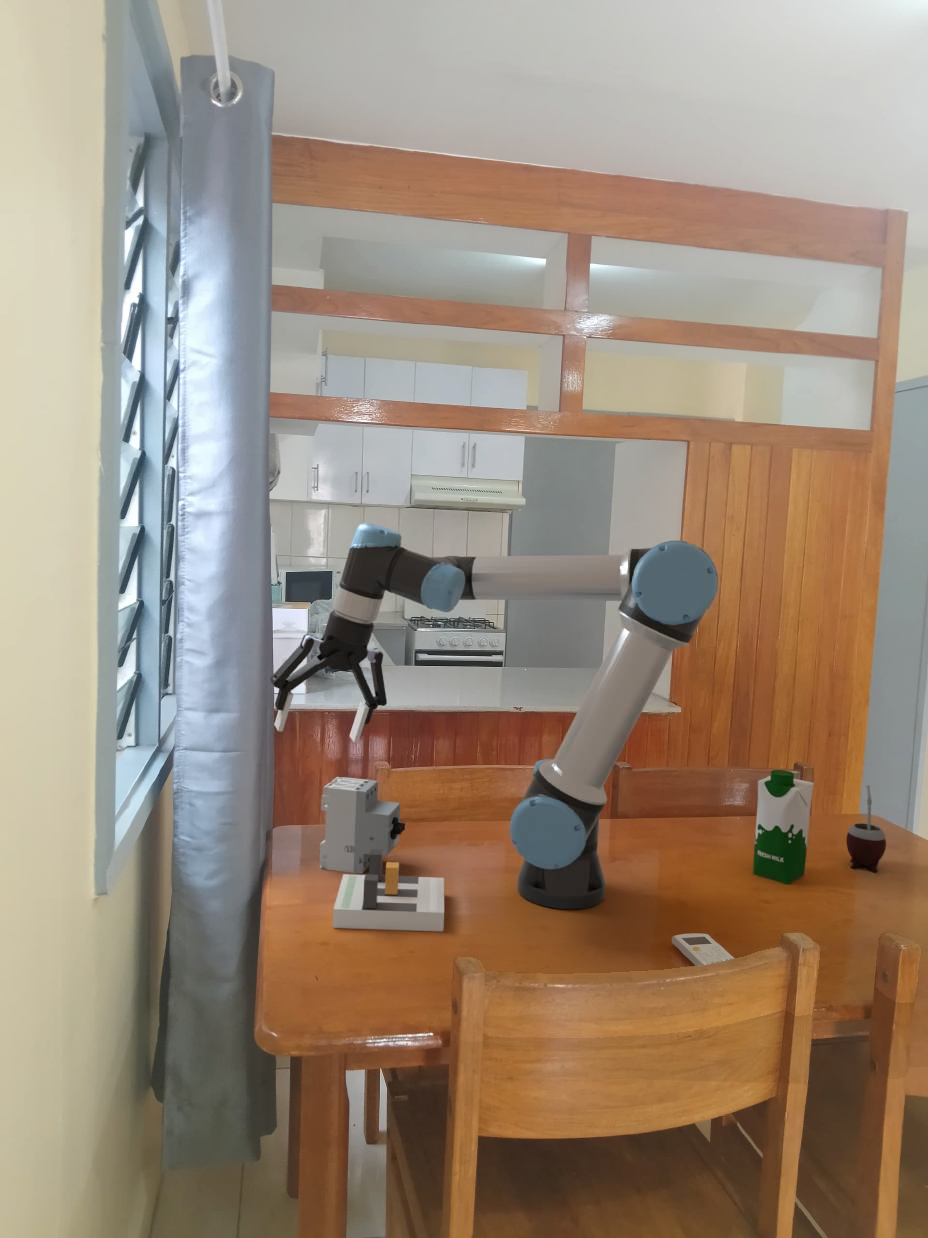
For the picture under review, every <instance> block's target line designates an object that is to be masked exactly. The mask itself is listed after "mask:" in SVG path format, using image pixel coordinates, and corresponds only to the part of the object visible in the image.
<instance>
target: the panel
mask: <svg viewBox="0 0 928 1238" xmlns="http://www.w3.org/2000/svg"><path fill="white" fill-rule="evenodd" d="M385 877H386V874H385V875H383V874H382V877H381V881H378V894H377V906H376V908H363V897H364V879H365V874H349V873H348V874H345V873H343V874H342V877H341V881H340V885H339V888H338V892H337V894H336V899H335V902H334V905H333V908H332V909H333V914H332V928H333V929H355V930H356V929H357V930H358V929H359V930H386V931H387V930H389V931H413V932H415V931H418V932H419V931H420V932H421V931H423V932H444V926H445V878H444V877H432V876H430V877H429V876H412V875H411V876H408V875H407V876H406V875H399V877H398V893H397V895H393V894H385Z"/></svg>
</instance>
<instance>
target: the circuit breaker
mask: <svg viewBox="0 0 928 1238" xmlns="http://www.w3.org/2000/svg"><path fill="white" fill-rule="evenodd" d="M322 790H323V793H322V795H321V802H320V803H321V804H320V806H321V808H320V810H321V811H322V812H323V811H324V812H325V829H324V830H325V831H324V835H325V836H324V839H323V841H321V842H320V843H319V870H320V869H321V870H322V869H325V870H327V871H337V872H345V873H353V874H358V875H363V874H364V872H365V871H366V870H367V869H369V861H370V851H371V849H372V850H383V857H388V855H389V854H390V853H391V852H392V851H393V849H394V848H395V847H396V846H397V845H398V844H399V842H400V835H402V834H403V832H404V831H405V830H406V823H405V822H401V821H400V820H401V819H400V818H401V803H400V802H393V801H384V800H378V797H379V796H378V793H379V791H378V790H379V780H373V779H363V778H353V777H344V776H343V777H339V776H336V777H335V778H334V779H332V780H331V781H330V782H328V783H327V784H326V785H324V786H323V788H322Z"/></svg>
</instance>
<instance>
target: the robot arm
mask: <svg viewBox="0 0 928 1238" xmlns="http://www.w3.org/2000/svg"><path fill="white" fill-rule="evenodd" d="M346 557H347V558H346V561H345V564H344V568H343V570H342V574H341V578H340V581H339V585H338V586H337V587H338V588H337V590H336V594H335V598H334V600H333V603H332V609H333V610H332V611H331V612H330V613H329V616H328V619H327V622H326V626H325V630H324V633H323V636H322V637H321V638H320V639H318V638H315V637H312V636H311V635H310V634H309V633H305V634H304V635H303V636H302V639H301V641H300V643H299V646H298V647H296V649H295V650H294V651H293V652H292V653H291V655H289V657H288V658H287V659H286V660H285V661H284V662H283V663H282V664H281V666H280V667H279V668H278V669H277V670H276V671H275V672H274V674H272V676H271V677H270V679H269V680H270V682H271V683H272V685H273V687H274V688H276V689H278V693H277V696H276V699H275V703H274V706H275V708H276V710H277V714H276V718H275V721H274V723H273V724H274V727H275V728H276V730H277V732H280V733H281V732H283V730H284V728H285V725H286V721H287V718H288V715H289V712H290V708H291V705H292V702H293V699H294V694H293V692H292V691H294V689H296V688H297V687H298V686H300V685H301V684H303V683H304V682H305V681H307V680H308V679H309V678H311V677H312V676H314V675H315V674H317V672H319V671H321V670H325V669H326V668H327V667H328V668H329V669H330V670H340V671H342V672H345V673H348V672H349V671H351V672H352V674H353V676H354V679H355V682H356V684H357V685H358V688H359V690H360V693H361V695H362V696H363V699H364V701H365V702H364V701H360V702H359V705H358V708H357V711H356V713H355V717H354V720H353V724H352V727H351V730H350V733H349V738H350V739H351V740H352V741H353V743H356V744H359V741H360V738H361V735H362V732H363V728H364V725H369V723H370V721H371V718H372V715H373V712H374V711H375V710H377V709H378V706H382V707H384V706H386V705H387V704H388V701H387V700H388V699H387V693H386V687H385V682H384V675H383V667H382V666H383V665H382V664H383V659H384V653H383V652H382V651H380V649H378V647H374V648H373V649H368V646H369V643H370V640H371V637H372V634H373V631H374V627H375V625H374V622H376V620H377V619H378V616H379V612H380V609H381V606H382V602H383V599H384V595H385V592H388V593H390V594H394V595H396V596H400V597H402V598H405V599H407V600H410V601H412V602H415V603H417V604H420V605H422V606H425V607H426V608H427V609H430V610H433V609H434V610H437V611H440V612H443V613H449V612H451V611H453V610H454V609H455V608H456V606H457V605H458V603H459V602H460V601H475V600H477V601H478V600H481V601H482V600H483V601H484V600H485V601H486V600H487V601H489V600H490V601H491V600H492V601H502V600H503V601H587V602H588V601H589V602H590V601H595V602H596V601H597V602H600V601H601V602H604V601H605V602H610V601H611V602H621V603H620V604H619V606H618V608H617V613H618V616H619V618H620V624H621V625H620V627H619V629H618V631H617V633H616V635H615V637H614V639H613V641H612V642H611V645H610V647H609V648H608V651H607V653H606V655H605V657H604V659H603V661H602V662H601V664H600V667H599V669H598V671H596V675H595V676H594V678H593V680H592V682H591V684H590V687H589V688H588V690H587V692H586V694H585V696H584V698H583V701H582V702H581V704H580V707H579V709H578V710H577V712H576V714H575V717H574V718H573V721H572V722H571V725H570V726H569V728H568V731H567V732H566V734H565V736H564V738H563V741H562V742H561V745H560V747H559V748H558V749H557V750H558V751H557V752H556V754H555V756H554V758H553V759H552V758H551V759H550V758H545V759H540V760H538V761H536V762H535V764H534V768H533V772H532V777H533V779H531V783H530V784H529V786H528V788H527V789H526V792H525V794H524V796H523V798H522V800H521V801H520V803H518V805H517V806H515V808H514V810H513V811H512V814H511V819H510V822H509V823H510V824H509V834H510V836H509V837H510V839H511V842H512V844H513V846H514V848H515V850H516V852H517V853H518V854H519V855H520V856H521V858H523V859H524V860H523V862H522V864H521V867H520V870H519V872H518V875H517V887H516V888H517V892H518V894H520V896H522V897H523V898H524V899H526V900H528V901H530V902H532V903H535V904H536V905H540V906H543V907H549V908H554V909H561V910H577V909H578V910H579V909H587V908H591V907H594V906H597V905H598V904H600V903H602V902H603V901H604V900H605V897H606V895H605V894H606V881H605V876H604V873H603V869H602V865H601V861H600V857H599V855H598V854H599V853H598V841H599V828H600V827H599V826H600V815H601V812H602V811H603V809H604V807H605V805H606V803H607V801H608V797H607V794H606V791H605V788H604V787H605V786H604V785H605V784H606V781H607V780H608V777H609V775H610V774H611V772H612V770H613V768H614V766H615V765H616V762H617V760H618V758H619V757H620V755H621V753H622V750H623V748H624V746H625V745H626V742H627V741H628V739H629V737H630V735H631V732H632V731H633V730H634V727H635V726H636V723H637V722H638V719H639V718H640V717H641V716H640V715H641V714H642V712H643V710H644V709H645V706H646V704H647V703H648V700H649V699H650V696H651V695H652V692H653V691H654V689H655V686H656V685H657V682H658V681H659V679H660V677H661V675H662V673H663V671H664V669H665V667H666V665H667V664H668V662H669V660H670V657H671V656H672V653H673V652H674V651H675V650H676V649H679V648H682V647H683V648H684V646H685V647H686V646H688V645H689V643H690V642H691V640H692V638H693V636H694V634H695V633H696V631H697V628H698V627H699V625H700V623H701V621H702V619H703V617H704V616H705V613H706V611H708V610H709V609H710V607H711V605H712V604H713V602H714V600H715V599H716V595H717V592H718V589H719V588H718V587H719V575H718V571H717V567H716V565H715V562H714V561H713V560H712V558H711V556H710V555H709V554H708V553H707V552H706V551H705V550H704V549H703V548H701V547H699V546H697V545H696V544H694V543H690V542H687V541H685V540H668V541H664V542H661V543H659V544H656V545H655V546H653V547H647V548H629V550H627V551H626V552H624V554H608V555H607V554H605V555H604V554H603V555H602V554H600V555H599V554H598V555H595V554H594V555H592V554H591V555H589V554H588V555H587V554H586V555H585V554H584V555H501V556H500V555H497V556H496V555H495V556H494V555H493V556H492V555H491V556H489V555H487V556H485V555H484V556H483V555H482V556H458V555H447V556H442V557H441V556H435V557H434V556H432V557H431V556H430V557H429V556H426V555H424V554H420V553H418V552H415V551H412V550H409V549H407V548H405V547H403V546H402V535H401V534H400V532H397V531H396V530H393V529H391V528H388V527H385V526H381V525H379V524H374V523H370V522H363V523H360V524H359V525H358V526H357V528H356V530H355V533H354V536H353V539H352V541H351V544H350V545H349V550H348V554H347V556H346ZM316 648H318V649H319V653H317V654H315V656H313V657H312V659H311V660H310V661H308V662H307V663H306V664H304V665H303V666H302V667H300V668H299V669H297V668H298V667H299V666H300V665H301V663H302V662H303V661H304V660H305V659H306V658H307V657H308V655H309V654H310V653H311V652H312V651H314V650H315V649H316ZM366 658H367V660H368V661H369V664H370V671H371V677H372V683H373V690H374V695H373V693H372V689H371V688H370V686H369V684H368V682H367V680H366V677H365V675H364V672H363V669H362V667H361V665H360V664H361V663H362V662H363V661H364V660H365V659H366ZM296 669H297V670H296ZM295 670H296V671H295ZM294 671H295V672H294Z"/></svg>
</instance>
